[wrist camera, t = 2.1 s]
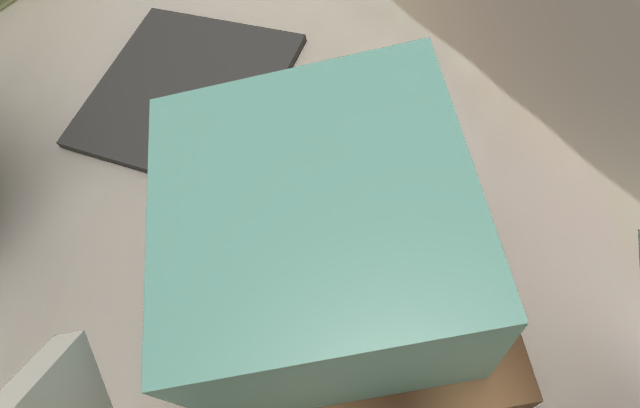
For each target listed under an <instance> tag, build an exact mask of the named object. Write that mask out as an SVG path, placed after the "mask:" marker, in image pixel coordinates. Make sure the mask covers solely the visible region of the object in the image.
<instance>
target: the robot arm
mask: <svg viewBox="0 0 640 408" xmlns="http://www.w3.org/2000/svg"><path fill="white" fill-rule="evenodd" d="M638 240H639V263H640V229H638ZM0 408H113V407H112V404H111V401H110V399H109V396H108V393H107V391H106V388H105V385H104V382H103V380H102V377H101V374H100V372H99V369H98V366H97V364H96V361H95V358H94V356H93V353H92V350H91V348H90V345H89V342H88V340H87V337H86V334H85V331H84V330H82V331H76V332H71V333H65V334H60V335H54V336H53V337H52V338H51V339H50V340H49V341H48V342H47V343H46V344H45V345H44V346H43V347H42V348H41V349H40V351H39V352H38V353H37V354H36V355H35V356H34V357H33V358H32V359H31V360H30V361H29V362H28V363H27V364H26V365H25V366H24V367H23V368H22V369H21V370H20V371H19V372H18V373H17V374H16V375H15V376H14V377H13V378H12V379H11V380H10V381H9V382H8V383H7V384H6V385H5V386H4V387H3V388H2V389H1V390H0Z"/></svg>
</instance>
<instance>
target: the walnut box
mask: <svg viewBox="0 0 640 408" xmlns="http://www.w3.org/2000/svg"><path fill="white" fill-rule="evenodd" d="M541 402H543V399H542V396H541V393H540V390H539V387H538V384H537V381H536V378H535V375H534V372H533V369H532V366H531V363H530V360H529V357H528V354H527V351H526V348H525V345H524V342H523V339H522V336H521V334H520V335H519V337H518V338H517V339H516V341H515V342H514V344H513V345H512V346H511V348H510V349H509V350H508V352H507V353H506V354H505V356H504V357H503V359H502V360H501V361H500V363H499V364H498V365H497V367H496V368H495V370H494V371H493V372H492V374H491V375H490V376H489V378H484V379H479V380H473V381H467V382H462V383H456V384H450V385H444V386H439V387H433V388H427V389H421V390H416V391H410V392H404V393H398V394H393V395H387V396H381V397H375V398H370V399H364V400H358V401H352V402H347V403H341V404H335V405H329V406H324V407H318V408H533V407H534V406H536V405H538V404H539V403H541Z"/></svg>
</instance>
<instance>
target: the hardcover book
mask: <svg viewBox="0 0 640 408" xmlns="http://www.w3.org/2000/svg"><path fill="white" fill-rule="evenodd" d="M15 1H16V0H0V11H2V10H3V9H5V8H6V7H7V6H9V5H10V4H12V3H13V2H15Z"/></svg>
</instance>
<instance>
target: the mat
mask: <svg viewBox="0 0 640 408" xmlns="http://www.w3.org/2000/svg"><path fill="white" fill-rule="evenodd" d="M306 41H307V40H306V36H305V35H304V34H299V33H293V32H287V31H281V30H276V29H270V28H264V27H258V26H253V25H247V24H241V23H235V22H230V21H224V20H218V19H212V18H207V17H201V16H195V15H189V14H184V13H178V12H172V11H167V10H161V9H155V8H152V9H151V10H150V11H149V13H148V14H147V16H146V17H145V18H144V20H143V21H142V23H141V24H140V25H139V27H138V28H137V30H136V31H135V33H134V34H133V35H132V37H131V38H130V40H129V41H128V42H127V44H126V45H125V47H124V48H123V49H122V51H121V52H120V54H119V55H118V56H117V58H116V59H115V61H114V62H113V64H112V65H111V66H110V68H109V69H108V71H107V72H106V73H105V75H104V76H103V78H102V79H101V80H100V82H99V83H98V85H97V86H96V87H95V89H94V90H93V92H92V93H91V95H90V96H89V97H88V99H87V100H86V102H85V103H84V104H83V106H82V107H81V109H80V110H79V111H78V113H77V114H76V116H75V117H74V118H73V120H72V121H71V123H70V124H69V126H68V127H67V128H66V130H65V131H64V133H63V134H62V135H61V137H60V138H59V140H58V141H57V142H56V143H57V144H58V145H59V146H60V147H61V148H65V149H68V150H71V151H75V152H78V153H82V154H85V155H88V156H92V157H95V158H98V159H102V160H105V161H109V162H112V163H115V164H119V165H122V166H126V167H129V168H132V169H136V170H139V171H142V172H146V173H148V142H149V108H150V99H155V98H159V97H163V96H168V95H172V94H177V93H181V92H186V91H190V90H195V89H199V88H204V87H208V86H213V85H217V84H222V83H226V82H231V81H235V80H240V79H244V78H249V77H253V76H258V75H262V74H267V73H271V72H276V71H280V70H285V69H289V68H292V67H293V65H294V64H295V62H296V60H297V58H298V56H299V54H300V52H301V50H302V48H303V46H304V44H305V43H306Z"/></svg>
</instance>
